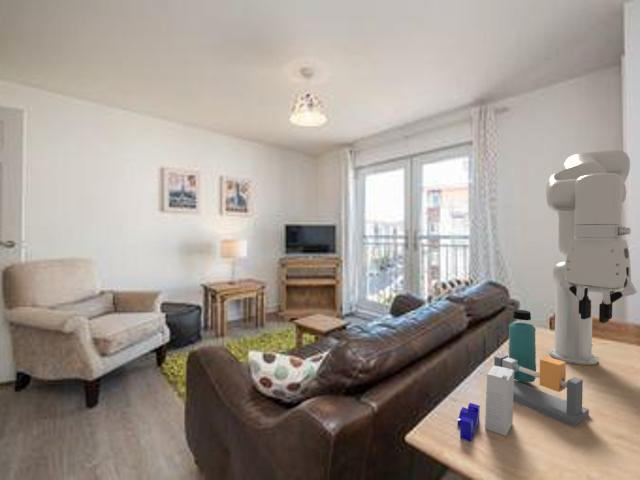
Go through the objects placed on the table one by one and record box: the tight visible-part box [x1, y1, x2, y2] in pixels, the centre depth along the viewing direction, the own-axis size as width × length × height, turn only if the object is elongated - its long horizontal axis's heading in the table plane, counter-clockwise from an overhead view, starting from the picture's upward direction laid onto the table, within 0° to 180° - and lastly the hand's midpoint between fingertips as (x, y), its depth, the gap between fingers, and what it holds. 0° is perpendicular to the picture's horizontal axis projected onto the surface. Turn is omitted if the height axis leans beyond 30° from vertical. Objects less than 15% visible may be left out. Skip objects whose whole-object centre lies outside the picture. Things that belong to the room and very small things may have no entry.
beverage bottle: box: [508, 309, 537, 383], centre depth 90 cm, size 6×7×20 cm
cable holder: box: [457, 402, 481, 442], centre depth 69 cm, size 8×4×4 cm, turn 143°
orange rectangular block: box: [539, 356, 567, 393], centre depth 76 cm, size 3×4×6 cm
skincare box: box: [484, 365, 515, 436], centre depth 70 cm, size 6×4×12 cm
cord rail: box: [493, 353, 590, 428], centre depth 80 cm, size 8×19×9 cm, turn 32°
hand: (594, 319), depth 69 cm, fingers open, 2 cm apart
